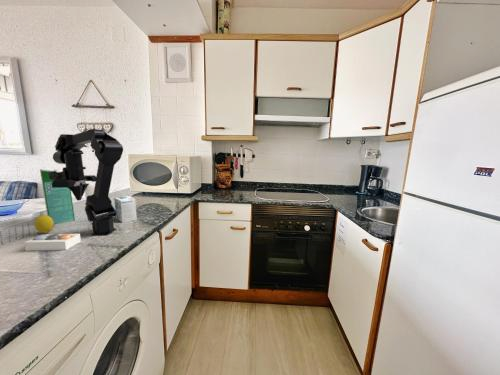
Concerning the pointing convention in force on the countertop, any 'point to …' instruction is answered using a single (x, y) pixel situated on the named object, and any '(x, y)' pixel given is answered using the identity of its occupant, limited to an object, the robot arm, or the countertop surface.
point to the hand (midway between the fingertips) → (79, 200)
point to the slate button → (41, 237)
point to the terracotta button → (65, 236)
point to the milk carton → (57, 199)
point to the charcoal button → (53, 236)
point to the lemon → (44, 224)
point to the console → (52, 243)
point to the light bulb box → (125, 208)
